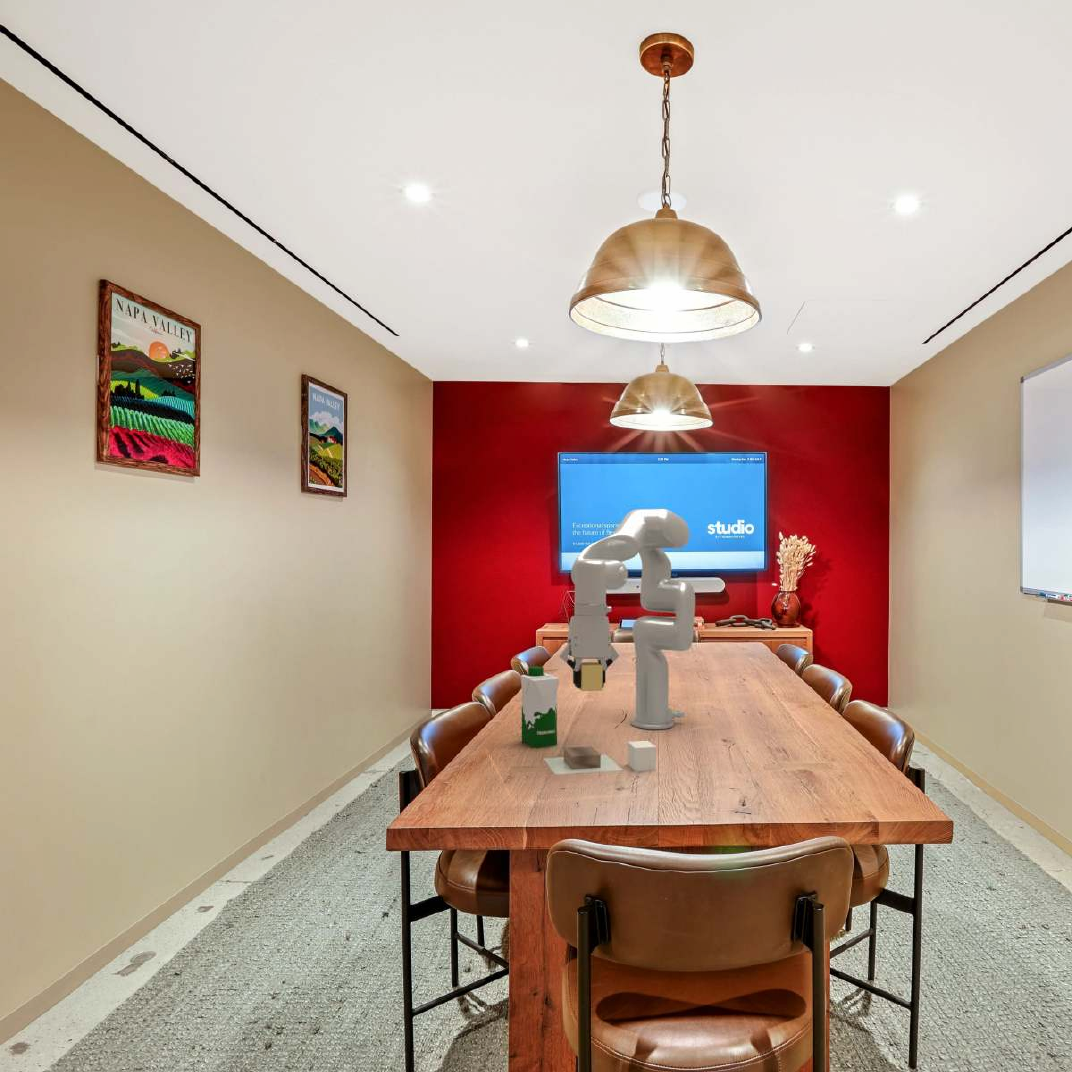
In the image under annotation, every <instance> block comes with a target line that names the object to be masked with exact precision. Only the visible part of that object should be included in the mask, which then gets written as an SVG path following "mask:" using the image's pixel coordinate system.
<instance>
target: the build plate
mask: <svg viewBox="0 0 1072 1072" xmlns="http://www.w3.org/2000/svg"><path fill="white" fill-rule="evenodd" d="M600 755H601V768H589V769H574V770H571V768H570V767H569V766H568V765H567V764H566V762H565V761H564V756H561V757H558V756H557V757H544V758H543V761H544V762H545V763H546V764H547V765H548V768H549V769H550V770H551V771H552V772H553V773H554V775H555V776H557V775H559V776H560V775H570V774H572V775H573V774H586V773H601V772H602V773H603V772H614V771H615V772H617V771H623V769H622V768H621V767H620V765H618V764H617V763H616V762H615V761H614V760H613V759H612V758H610V756H608V755H607V754H600Z"/></svg>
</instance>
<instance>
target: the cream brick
mask: <svg viewBox="0 0 1072 1072" xmlns="http://www.w3.org/2000/svg"><path fill="white" fill-rule="evenodd" d="M656 756H657V747H656V745H654V744H653V743H651V741H648V740H637V741H627V765H628V767H630V768H631V769H632V770H633V771H634V772H647V771H648V772H649V771H656V770H657V766H656V765H657V764H656V763H657V762H656V761H657V760H656V759H657V757H656Z"/></svg>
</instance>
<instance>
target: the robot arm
mask: <svg viewBox="0 0 1072 1072" xmlns="http://www.w3.org/2000/svg"><path fill="white" fill-rule="evenodd" d="M689 539H690V528H689V525H688V523H687V522H686V521H685V520H684V519H683V518H682V517H681V516H679V515H677V514H676V513H675V512H673V511H671V510H669V509H666V508H646V509H644V508H643V509H642V508H640V509H639V508H638V509H633V510H631V511H629V512H628V513H627V514H625V516H624V517H623V519H622V520H621V522H620V523H619V524H618V526H617V527H616V529H615V530H614V531H613V533H612V534H610V535H609V536H606V537H604V538H602V539H600V540H598V541H595V542H594V543H591V544H590V545H588V546H587V547H585V548H584V549H583V550H582V551H581V552H580V553H579V555H578V557H576V559H575V561H574V562H573V564H572V566H571V571H570V577H571V581H572V582H573V584H574V615H572V616H571V617H570V620H569V625H568V634H567V646H566V647H565V648H564V649H563V651H561V653H560V655H559V658H560V659H562V661H563V662H565V664H567V665H568V666H569V667H570V668H571V670H572V683H573V685H574V687H576V688H577V689H578V688H581V671H580V665H581V662H582V661H583V660H589V659H590V660H593V659H594V660H597V663H599V664H601V665H603V677H602V689H603V688H604V684H606V671H608V668H609V667H610V666H611V665H612V664H613V663H614V662H615V661H616V660H617V659H618V658H619V657H620V654H619V653H618V651H616V649H615V647H614V646H613V645H612V635H611V634H612V633H611V627H610V620H609V616H606V615H607V614H608V613H611V612H612V607H611V606H608V604H607V590H609V591H614V590H619V589H621V588H623V587H624V586H625V585H626V584H627V581H628V578H629V572H628V568H627V566H626V565H625V563H623V562H625V561H628V560H630V559H633V558H635V557H636V556H637V555H638V554H639V556H640V560H641V566H642V567H641V568H642V569H641V582H640V595H639V596H640V605H641V607H642V608H643V609H644V610H645V611H649V612H655V613H658V612H659V613H672V614H675V617H670V616H669V617H668V616H660V615H659V616H657V615H656V616H655V615H643V616H641V617H638V618H636V620H635V621H634V622H633V624H632V637H633V643H634V644H633V645H634V650H635V716H633V717H631V718H630V719H629V720H630V725H631V726H633V727H636V728H640V729H645V730H666V729H670V728H673V727H674V726H675V721H674V719H675V718H678V719H679V718H684V717H685V711H684V710H677V709H671V708H670V706H669V705H670V704H669V703H670V702H669V701H670V700H669V696H670V695H669V694H670V693H669V689H670V688H669V687H670V686H669V683H670V682H669V681H670V680H669V677H670V676H669V675H670V674H669V671H670V669H669V668H670V667H669V662H668V660H667V657H666V656H665V654H664V652H663V651H672V652H673V651H674V652H685V651H686V652H687V651H689V649H690V648H691V647H692V644H693V642H694V633H695V632H694V629H695V613H696V610H695V609H696V594H695V590H694V585H692V584H691V583H690V582H689V581H687V580H680V579H674V580H673V579H672V578H671V577H672V575H671V574H672V563H671V561H670V560H671V559H670V558H669V556H668V555H667V554H666V552H665V551H664V550H663V549H681V548H684V547H685V546H686V545H687V544H688V542H689ZM569 656H570V657H572V658H573V659H571V658H570V657H569Z"/></svg>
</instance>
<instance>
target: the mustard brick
mask: <svg viewBox="0 0 1072 1072" xmlns="http://www.w3.org/2000/svg"><path fill="white" fill-rule="evenodd" d="M580 671H581V688H577V689H578V690H580V691H582V692H599V691H600V692H601V691H603V688H602V677H603V665H601V664H599V663H598V661H594V662H593V661H592V662H591V661H589V662H586V661H585V662H582V661H581V665H580Z"/></svg>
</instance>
